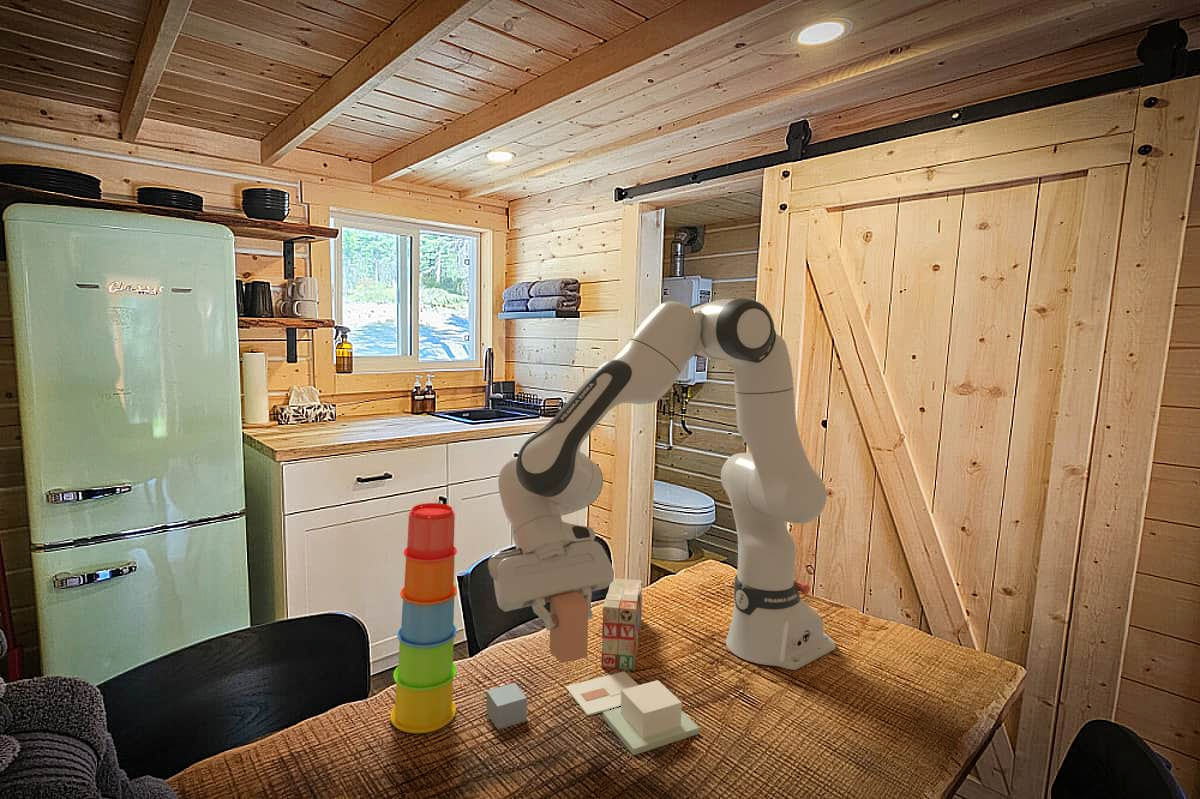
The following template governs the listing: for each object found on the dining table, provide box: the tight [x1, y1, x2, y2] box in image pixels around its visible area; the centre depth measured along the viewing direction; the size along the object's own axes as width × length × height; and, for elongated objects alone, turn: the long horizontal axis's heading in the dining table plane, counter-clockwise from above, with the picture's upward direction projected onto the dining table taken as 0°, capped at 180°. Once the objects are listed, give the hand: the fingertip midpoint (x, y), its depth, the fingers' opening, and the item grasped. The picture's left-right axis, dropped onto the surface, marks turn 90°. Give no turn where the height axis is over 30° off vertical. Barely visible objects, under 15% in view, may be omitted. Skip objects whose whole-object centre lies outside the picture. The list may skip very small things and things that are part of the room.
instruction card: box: [565, 670, 639, 717], centre depth 107 cm, size 12×9×1 cm
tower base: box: [602, 679, 701, 756], centre depth 98 cm, size 12×10×5 cm
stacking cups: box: [389, 502, 458, 734], centre depth 98 cm, size 10×10×35 cm
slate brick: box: [486, 682, 528, 730], centre depth 100 cm, size 5×5×4 cm
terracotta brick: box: [549, 591, 589, 664], centre depth 97 cm, size 4×4×9 cm
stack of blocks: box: [600, 578, 643, 671], centre depth 125 cm, size 21×6×12 cm, turn 172°
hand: (570, 623), depth 96 cm, fingers closed on terracotta brick, 5 cm apart
